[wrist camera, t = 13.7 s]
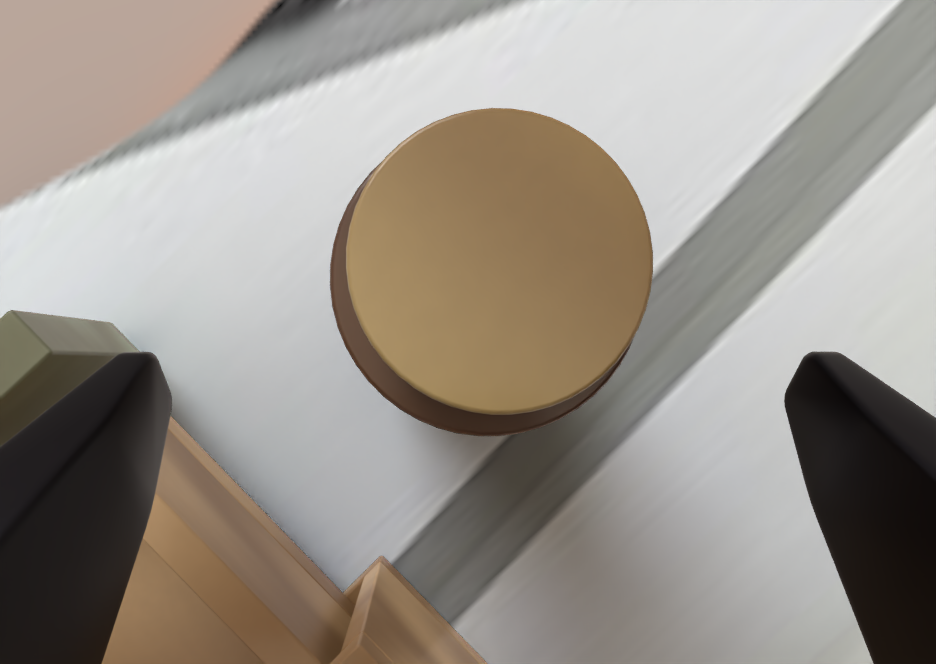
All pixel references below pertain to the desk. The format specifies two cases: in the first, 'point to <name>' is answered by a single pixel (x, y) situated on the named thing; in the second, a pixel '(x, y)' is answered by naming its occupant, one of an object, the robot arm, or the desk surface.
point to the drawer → (182, 530)
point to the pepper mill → (491, 272)
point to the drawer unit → (398, 624)
